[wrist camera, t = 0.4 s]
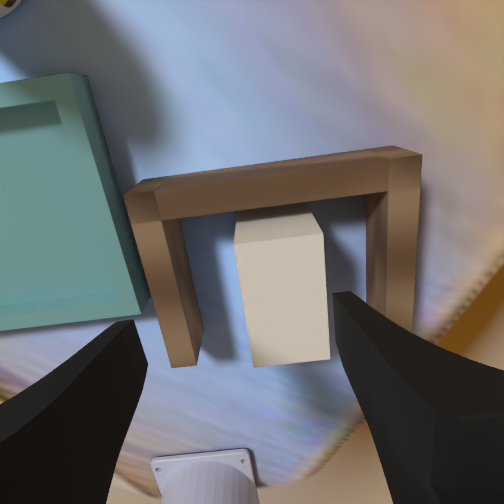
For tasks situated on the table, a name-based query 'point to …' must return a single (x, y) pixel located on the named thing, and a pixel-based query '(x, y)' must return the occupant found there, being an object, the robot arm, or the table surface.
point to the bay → (272, 194)
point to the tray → (61, 210)
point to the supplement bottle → (8, 6)
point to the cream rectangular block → (283, 284)
